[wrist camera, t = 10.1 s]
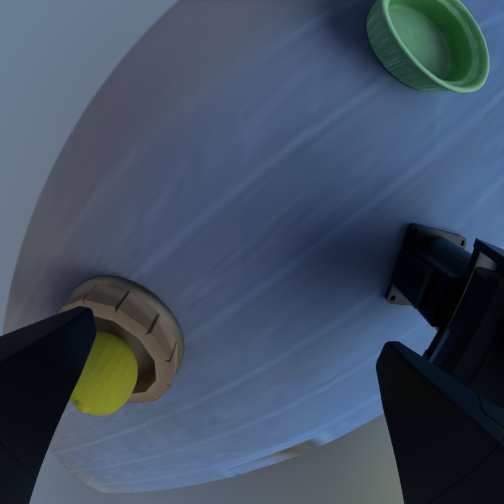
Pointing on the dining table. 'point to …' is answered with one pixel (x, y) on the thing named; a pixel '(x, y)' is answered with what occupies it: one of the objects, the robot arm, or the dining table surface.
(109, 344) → the lemon
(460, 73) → the ramekin
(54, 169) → the dining table surface
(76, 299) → the wooden bowl
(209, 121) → the dining table surface
